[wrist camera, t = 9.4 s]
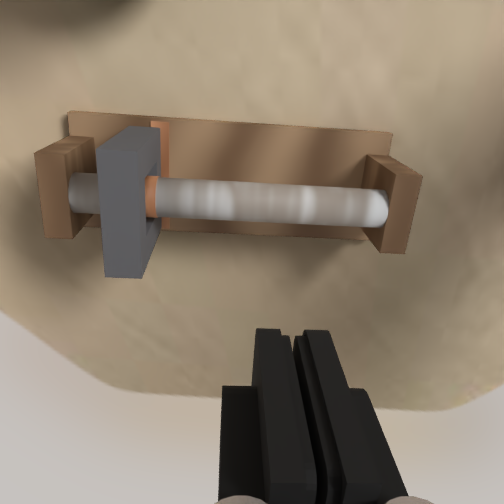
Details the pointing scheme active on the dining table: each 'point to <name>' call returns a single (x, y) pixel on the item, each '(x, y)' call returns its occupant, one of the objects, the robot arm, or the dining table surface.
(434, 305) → the dining table surface
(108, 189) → the grey flat block
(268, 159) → the pipe stand
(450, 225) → the dining table surface
